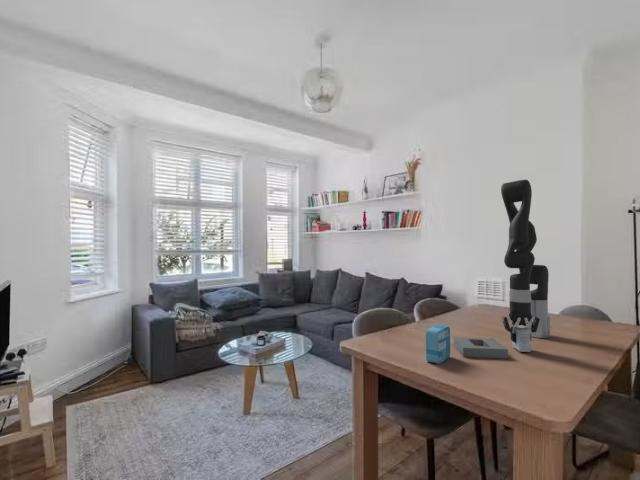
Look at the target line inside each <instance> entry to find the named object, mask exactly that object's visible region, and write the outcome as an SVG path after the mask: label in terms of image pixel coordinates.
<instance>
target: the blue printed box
mask: <svg viewBox="0 0 640 480" xmlns="http://www.w3.org/2000/svg"><path fill="white" fill-rule="evenodd" d="M450 356H451V329H450V326H448V325H441V324H436V325H434V326H431V327H430V328H427V329H426V331H425V360H426V362H429V363H433V364H437V365H440V364H442V363H443V362H444V361H446V360H447V359H449V358H450Z"/></svg>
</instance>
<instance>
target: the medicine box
mask: <svg viewBox="0 0 640 480" xmlns="http://www.w3.org/2000/svg"><path fill="white" fill-rule="evenodd" d="M515 333H516V343H515V342H513V341H512V340H511V346H512V347H513V348H514V349H516V350H517V351H518V352H521V353H531V352H532V346H531V345H532V344H531V343H532V338H531V339H530V330H528V329H527V328H525V327H524V326H523V325H520V326H518V328H517V329H516V332H515Z"/></svg>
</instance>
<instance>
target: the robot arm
mask: <svg viewBox="0 0 640 480" xmlns="http://www.w3.org/2000/svg"><path fill="white" fill-rule="evenodd" d="M500 193H501V198H502V201H503V204H504V207H505V210H506V213H507V216H508V217H507V218H508V221H509V228H508V246H507V250H506V252H505V256H504V258H503V260H504V261H503V262H504V265H505V266H506V268H509V269H518V270H519V271H518V273H515V274H514V273H513V274H510V276H509V295H508V296H509V301H508V302H509V314H508V315H502V316H501V320H502V324H503V327H504V330H505V331H507V332H509V333H510V340H511V342H512V341H513V342H515V343H516V333H515V332H516V329H517V328H518V326H523V327H525V328H527V329H528V330H530V339H531V340H532V338H539V339H546V338H551V316H549V309H548V308H549V307H548V306H549V303H548V302H549V301H548V299H549V298H548V297H549V276H550V275H549V269H548V266H547V265H545V264H544V265H543V264H535V260H536V259H535V258H536V257H535V255H534V253H533V252H532V250H533V249H534V248H535V246H536V244H537V240H538V238H537V232H536V228H535V225H534V224H533V223H532V222H531V221H530V220H529V219H530V214H531V213H530V212H531V205H532V196H533V195H532V193H533V191H532V185H531V182H530V181H529V180H528V179H520V180H514V181H508V182H505V183H503V184H502V185H501V187H500ZM520 202H521V204H520V208H519V209H518V208H517V206H516V205H515V203H520ZM531 285H537V288H535V289H533V290H531ZM510 320H511V323H510V324H511V325H510V324H509V322H510Z"/></svg>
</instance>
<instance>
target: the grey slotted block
mask: <svg viewBox="0 0 640 480" xmlns="http://www.w3.org/2000/svg"><path fill="white" fill-rule="evenodd" d="M453 347H454V348H456V350H457V351H458V352H459V354H460V355H461V356H462V357H463V358H479V359H481V358H483V359H486V358H487V359H507V360H508V358H509V350H508V348H507V347H505V346H504V345H502V343H500V341H497V340H496V339H494V338H492V337H462V336H456V337H455V336H453Z"/></svg>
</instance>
